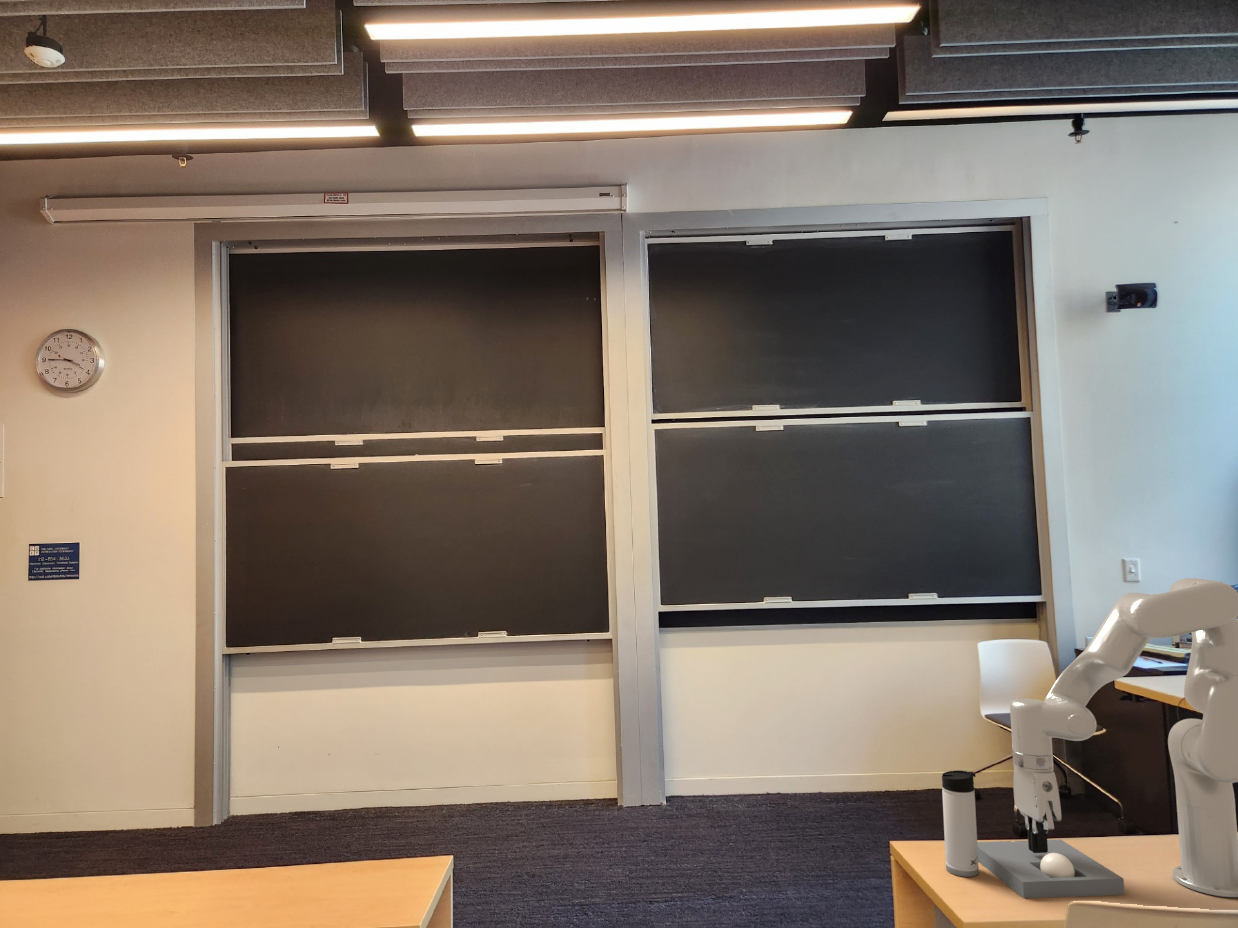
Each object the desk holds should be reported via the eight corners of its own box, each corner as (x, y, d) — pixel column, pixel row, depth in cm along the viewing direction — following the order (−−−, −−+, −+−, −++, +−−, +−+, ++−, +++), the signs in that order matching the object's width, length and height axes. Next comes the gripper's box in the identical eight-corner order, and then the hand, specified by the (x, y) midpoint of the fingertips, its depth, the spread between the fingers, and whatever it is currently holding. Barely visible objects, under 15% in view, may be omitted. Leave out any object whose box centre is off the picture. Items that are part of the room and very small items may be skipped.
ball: (1064, 845, 160) (1083, 866, 154) (1061, 871, 161) (1079, 892, 156) (1035, 846, 160) (1052, 866, 154) (1032, 872, 161) (1049, 893, 155)
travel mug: (983, 878, 161) (978, 776, 163) (949, 875, 162) (944, 775, 164) (976, 865, 167) (971, 768, 169) (943, 863, 168) (938, 766, 170)
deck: (1061, 853, 173) (1060, 839, 173) (1124, 894, 153) (1123, 878, 153) (972, 856, 172) (971, 842, 172) (1023, 898, 152) (1022, 881, 152)
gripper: (1072, 770, 159) (1078, 865, 157) (1030, 750, 174) (1035, 837, 172) (1035, 771, 159) (1041, 866, 157) (996, 751, 174) (1001, 838, 172)
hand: (1038, 850), depth 165 cm, fingers closed
